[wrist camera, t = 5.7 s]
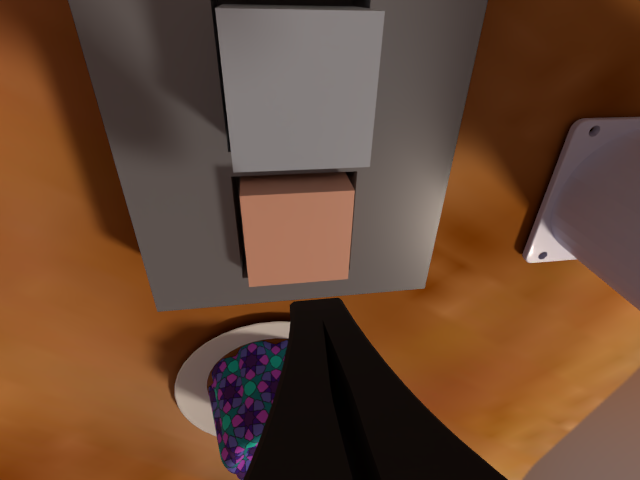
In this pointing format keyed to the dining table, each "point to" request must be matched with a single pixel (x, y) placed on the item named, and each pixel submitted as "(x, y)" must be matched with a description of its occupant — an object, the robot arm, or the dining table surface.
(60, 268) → the dining table surface
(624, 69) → the dining table surface
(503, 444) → the dining table surface
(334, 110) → the key slate
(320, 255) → the key terracotta
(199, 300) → the keypad board
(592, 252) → the robot arm
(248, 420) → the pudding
